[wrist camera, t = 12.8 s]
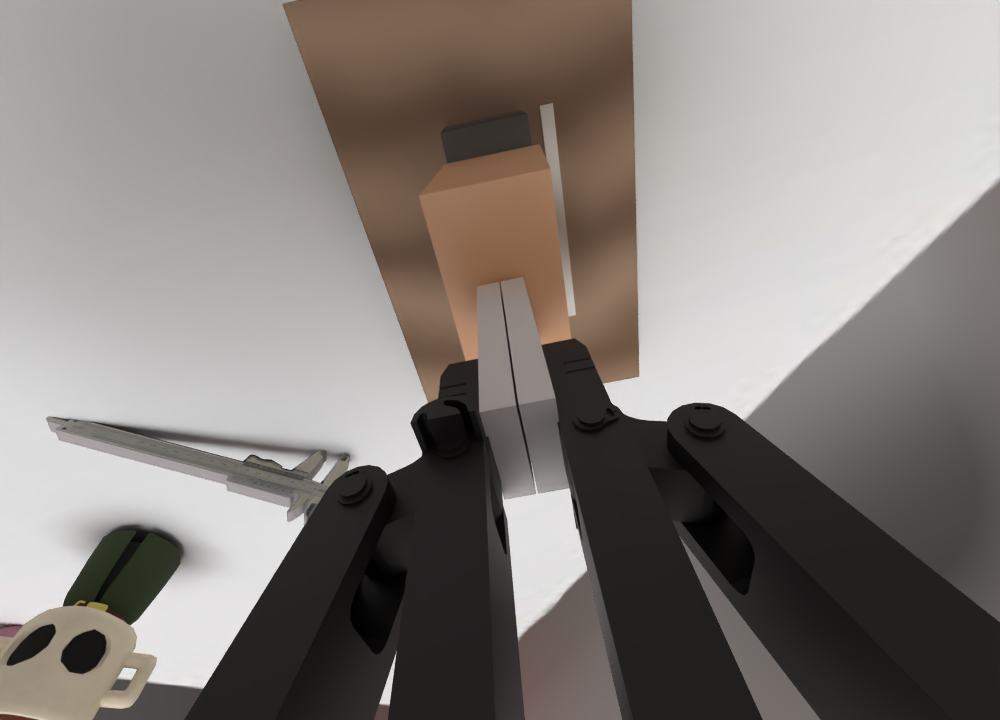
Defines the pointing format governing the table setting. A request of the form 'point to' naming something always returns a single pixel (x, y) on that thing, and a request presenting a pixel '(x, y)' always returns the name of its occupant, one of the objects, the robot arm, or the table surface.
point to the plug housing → (498, 237)
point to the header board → (461, 81)
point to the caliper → (212, 465)
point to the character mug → (87, 636)
